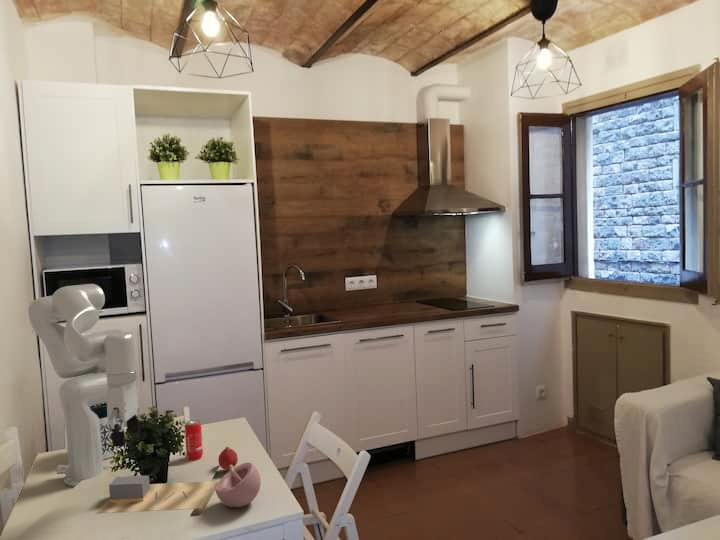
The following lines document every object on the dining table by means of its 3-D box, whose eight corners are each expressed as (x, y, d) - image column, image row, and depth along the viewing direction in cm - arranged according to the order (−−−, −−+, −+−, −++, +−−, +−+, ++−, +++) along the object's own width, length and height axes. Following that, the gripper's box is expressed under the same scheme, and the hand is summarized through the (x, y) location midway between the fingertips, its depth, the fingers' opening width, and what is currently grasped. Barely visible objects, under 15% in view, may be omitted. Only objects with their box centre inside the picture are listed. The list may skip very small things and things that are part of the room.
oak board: (95, 518, 145) (95, 513, 145) (121, 490, 161) (121, 485, 161) (202, 513, 145) (201, 508, 145) (217, 485, 161) (217, 480, 161)
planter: (64, 460, 186) (60, 419, 185) (99, 442, 201) (96, 404, 200) (102, 464, 181) (99, 421, 180) (135, 445, 196) (132, 406, 195)
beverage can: (189, 462, 179) (187, 426, 178) (184, 457, 183) (182, 422, 183) (205, 457, 182) (203, 422, 182) (199, 453, 186) (197, 418, 186)
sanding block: (110, 502, 150) (109, 485, 150) (118, 494, 155) (116, 476, 155) (143, 501, 150) (142, 483, 150) (150, 492, 155) (148, 475, 155)
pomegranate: (216, 470, 172) (214, 445, 171) (233, 465, 175) (231, 441, 174) (223, 476, 167) (222, 451, 166) (241, 471, 170) (239, 446, 170)
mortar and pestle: (214, 499, 153) (211, 459, 152) (257, 490, 157) (255, 451, 156) (219, 520, 141) (216, 476, 141) (265, 509, 145) (263, 467, 145)
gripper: (121, 371, 159) (126, 428, 160) (93, 387, 142) (98, 452, 143) (147, 369, 159) (151, 427, 160) (122, 386, 142) (127, 450, 143)
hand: (126, 439), depth 152 cm, fingers open, 9 cm apart
